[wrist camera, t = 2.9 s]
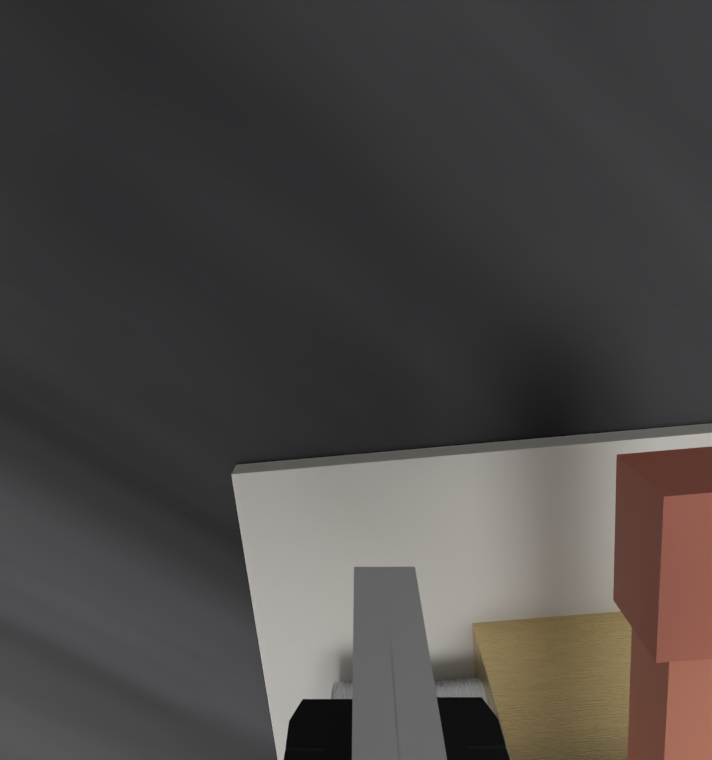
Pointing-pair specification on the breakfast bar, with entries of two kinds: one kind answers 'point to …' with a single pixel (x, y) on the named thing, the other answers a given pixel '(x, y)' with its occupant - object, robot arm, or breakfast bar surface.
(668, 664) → the lever
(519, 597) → the mounting board
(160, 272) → the breakfast bar surface
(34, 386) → the breakfast bar surface
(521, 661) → the valve body
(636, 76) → the breakfast bar surface
